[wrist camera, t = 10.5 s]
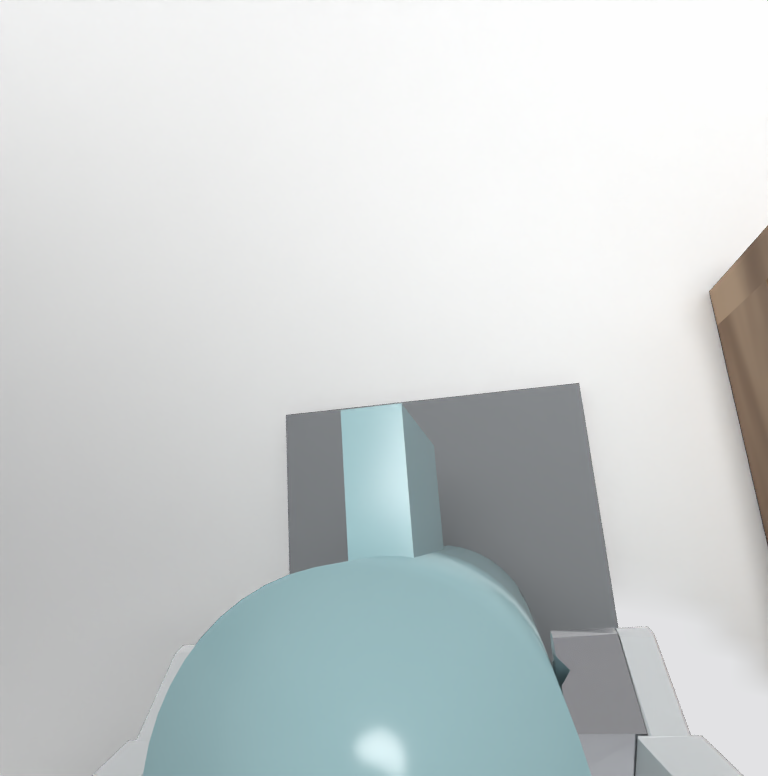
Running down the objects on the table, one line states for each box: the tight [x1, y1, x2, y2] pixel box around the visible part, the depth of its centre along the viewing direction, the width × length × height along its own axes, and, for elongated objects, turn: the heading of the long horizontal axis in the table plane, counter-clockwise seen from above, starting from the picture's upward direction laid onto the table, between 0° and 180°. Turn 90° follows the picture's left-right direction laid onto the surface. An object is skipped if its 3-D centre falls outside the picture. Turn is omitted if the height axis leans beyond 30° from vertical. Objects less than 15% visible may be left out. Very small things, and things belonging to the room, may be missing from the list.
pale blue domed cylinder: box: [143, 403, 591, 776], centre depth 11 cm, size 5×7×10 cm
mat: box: [286, 383, 618, 665], centre depth 18 cm, size 10×14×1 cm
